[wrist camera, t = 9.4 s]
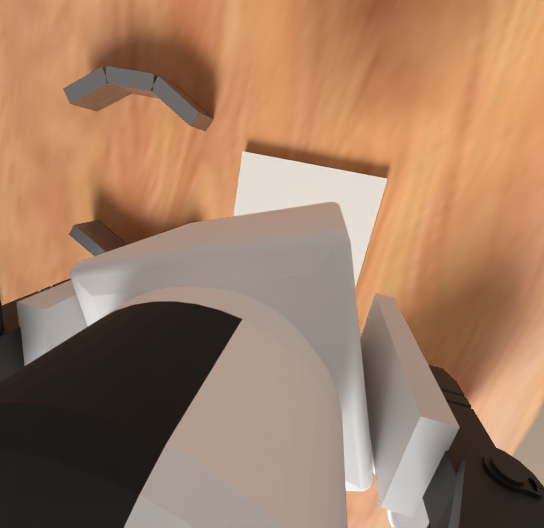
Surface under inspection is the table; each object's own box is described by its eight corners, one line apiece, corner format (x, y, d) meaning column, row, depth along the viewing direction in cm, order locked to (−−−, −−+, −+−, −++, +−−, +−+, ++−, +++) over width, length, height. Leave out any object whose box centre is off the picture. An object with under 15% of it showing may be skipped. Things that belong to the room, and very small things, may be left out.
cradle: (93, 248, 31) (69, 255, 29) (91, 71, 26) (62, 58, 23) (196, 273, 30) (183, 283, 27) (216, 91, 25) (201, 81, 22)
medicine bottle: (218, 353, 16) (-50, 783, 5) (187, 222, 14) (-373, 411, 3) (355, 348, 14) (443, 974, 3) (339, 199, 13) (418, 417, 1)
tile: (227, 279, 29) (224, 281, 29) (245, 151, 26) (242, 151, 25) (347, 308, 28) (348, 312, 27) (385, 178, 24) (387, 178, 23)
